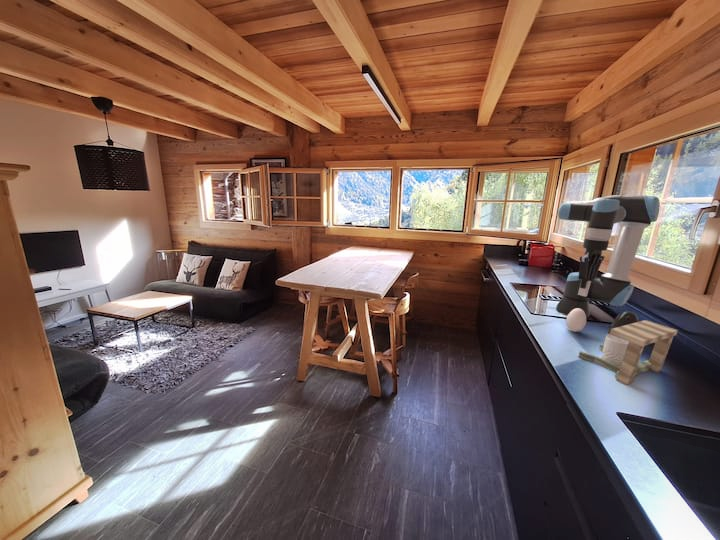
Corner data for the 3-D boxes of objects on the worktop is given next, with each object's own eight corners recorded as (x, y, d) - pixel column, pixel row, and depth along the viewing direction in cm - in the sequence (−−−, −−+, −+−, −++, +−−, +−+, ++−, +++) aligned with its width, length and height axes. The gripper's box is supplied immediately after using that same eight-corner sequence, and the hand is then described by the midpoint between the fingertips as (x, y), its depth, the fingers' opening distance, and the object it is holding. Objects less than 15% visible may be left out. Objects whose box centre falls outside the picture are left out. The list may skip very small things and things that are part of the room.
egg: (562, 330, 136) (567, 307, 133) (566, 326, 141) (572, 304, 138) (580, 336, 131) (587, 312, 128) (584, 332, 136) (591, 309, 133)
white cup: (598, 354, 116) (604, 332, 113) (623, 361, 112) (630, 338, 109) (600, 363, 110) (607, 340, 107) (627, 370, 105) (635, 346, 103)
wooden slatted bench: (605, 347, 122) (616, 310, 118) (662, 371, 106) (677, 330, 102) (571, 357, 112) (581, 318, 108) (628, 386, 96) (643, 341, 92)
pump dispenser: (604, 343, 126) (614, 311, 122) (606, 335, 133) (615, 305, 129) (636, 352, 119) (647, 319, 115) (635, 343, 127) (646, 312, 123)
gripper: (595, 237, 118) (581, 290, 124) (576, 238, 113) (563, 293, 119) (617, 240, 112) (601, 296, 118) (598, 241, 106) (582, 300, 113)
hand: (582, 295), depth 118 cm, fingers closed
